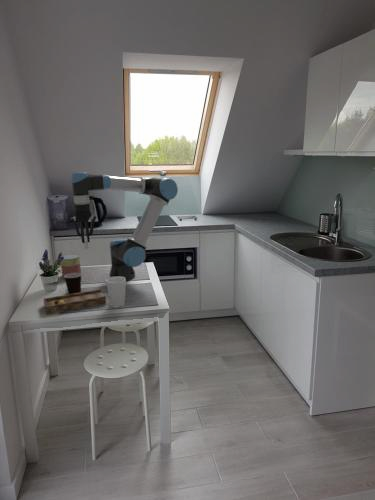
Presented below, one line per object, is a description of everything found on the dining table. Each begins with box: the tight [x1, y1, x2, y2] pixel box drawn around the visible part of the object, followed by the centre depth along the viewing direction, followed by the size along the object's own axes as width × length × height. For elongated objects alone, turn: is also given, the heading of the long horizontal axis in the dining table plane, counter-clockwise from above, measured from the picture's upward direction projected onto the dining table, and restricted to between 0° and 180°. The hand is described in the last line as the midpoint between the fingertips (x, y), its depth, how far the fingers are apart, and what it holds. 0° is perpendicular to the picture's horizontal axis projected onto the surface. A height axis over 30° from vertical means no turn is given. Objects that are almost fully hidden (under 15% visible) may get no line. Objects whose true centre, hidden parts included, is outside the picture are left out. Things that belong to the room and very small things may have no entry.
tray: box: [43, 288, 107, 315], centre depth 192 cm, size 28×12×4 cm, turn 114°
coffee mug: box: [64, 273, 82, 295], centre depth 208 cm, size 12×9×10 cm
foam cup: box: [105, 276, 127, 308], centre depth 189 cm, size 10×9×13 cm
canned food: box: [60, 253, 82, 279], centre depth 236 cm, size 11×11×12 cm
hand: (86, 248), depth 201 cm, fingers closed
